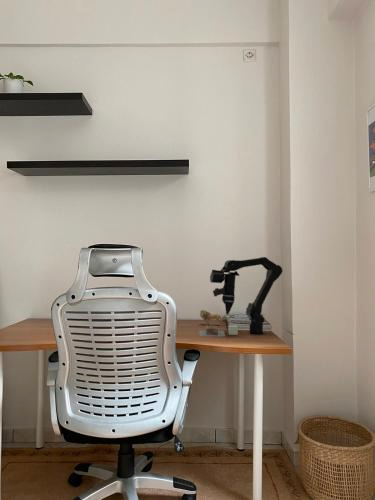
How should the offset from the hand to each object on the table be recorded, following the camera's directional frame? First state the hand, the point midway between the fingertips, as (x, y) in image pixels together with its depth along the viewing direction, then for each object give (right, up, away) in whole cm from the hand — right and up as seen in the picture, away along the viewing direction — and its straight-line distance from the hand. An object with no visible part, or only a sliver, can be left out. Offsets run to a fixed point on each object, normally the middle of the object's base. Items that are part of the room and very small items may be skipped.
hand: (227, 313), depth 202 cm
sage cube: (+3, -11, -2) cm, 12 cm away
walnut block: (-8, -10, -1) cm, 13 cm away
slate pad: (-8, -11, -1) cm, 14 cm away
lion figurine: (-7, -12, +26) cm, 29 cm away
